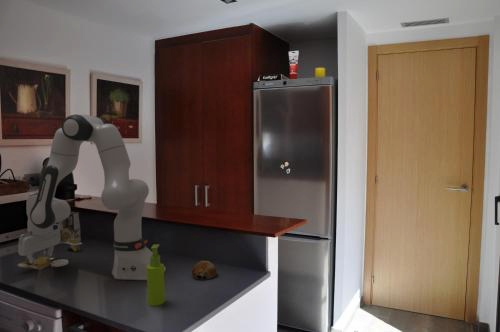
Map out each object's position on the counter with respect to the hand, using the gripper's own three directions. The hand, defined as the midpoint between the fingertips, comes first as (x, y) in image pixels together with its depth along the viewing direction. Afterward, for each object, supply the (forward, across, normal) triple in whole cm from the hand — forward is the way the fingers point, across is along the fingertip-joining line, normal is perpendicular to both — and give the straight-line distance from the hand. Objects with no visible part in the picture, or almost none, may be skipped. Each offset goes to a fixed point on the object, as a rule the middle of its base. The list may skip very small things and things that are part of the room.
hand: (41, 259), depth 174 cm
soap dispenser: (+4, -18, -69) cm, 71 cm away
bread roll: (+4, +10, -75) cm, 75 cm away
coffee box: (+4, +36, +16) cm, 39 cm away
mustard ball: (+3, 0, 0) cm, 3 cm away
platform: (+4, +23, +3) cm, 24 cm away
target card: (+3, +10, +5) cm, 11 cm away
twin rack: (+3, 0, +3) cm, 5 cm away
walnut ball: (+3, 0, +6) cm, 7 cm away
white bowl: (+3, +4, -6) cm, 8 cm away
